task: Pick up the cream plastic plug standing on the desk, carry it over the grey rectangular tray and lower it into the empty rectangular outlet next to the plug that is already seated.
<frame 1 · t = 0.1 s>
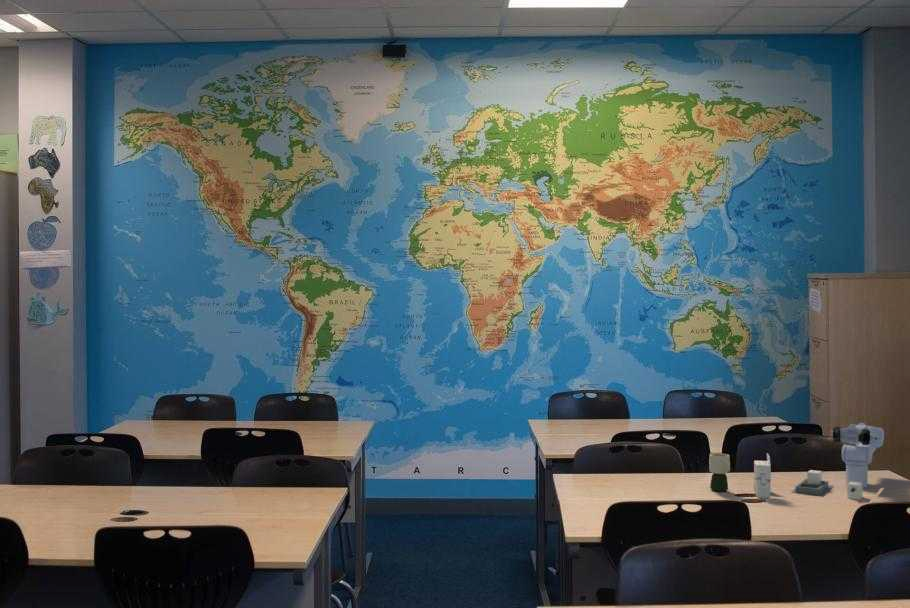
hand: (847, 437, 319), 22 cm above the table, tool horizontal, fingers open, 7 cm apart
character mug: (719, 491, 331), on the table
twin plug: (814, 488, 331), point 1 cm above the table, touching grey rectangular tray
grey rectangular tray: (812, 491, 329), on the table
plug: (854, 500, 317), on the table
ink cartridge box: (761, 496, 323), on the table
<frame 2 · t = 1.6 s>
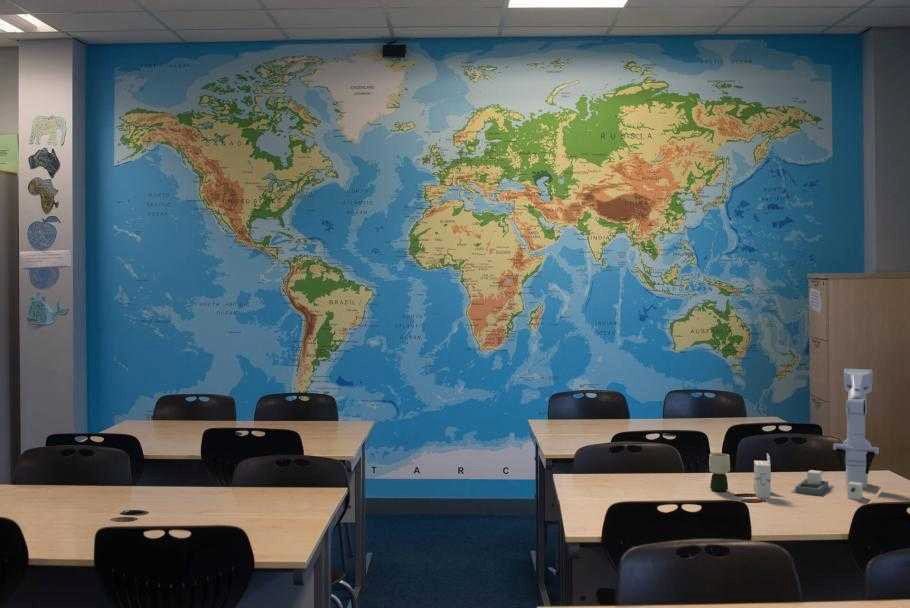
hand: (855, 472, 316), 10 cm above the table, tool pointing down, fingers open, 7 cm apart
nothing on the table moved.
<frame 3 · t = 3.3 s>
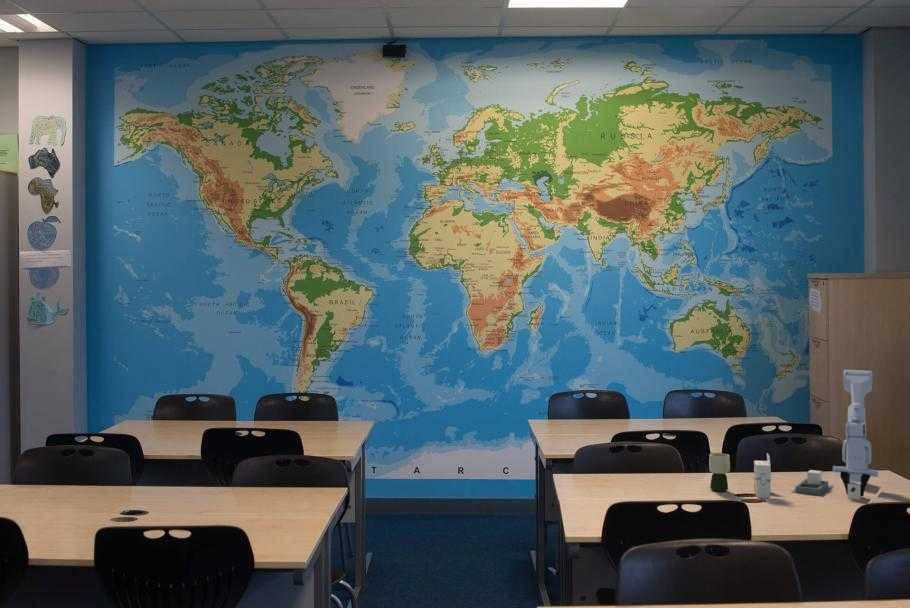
hand: (854, 494, 316), 2 cm above the table, tool pointing down, fingers closed on plug, 4 cm apart
plug: (854, 500, 317), on the table, touching gripper
everything else where it was.
when the fingers open (4 cm above the table, at t = 7.6 s): plug stays where it is, resting on grey rectangular tray.
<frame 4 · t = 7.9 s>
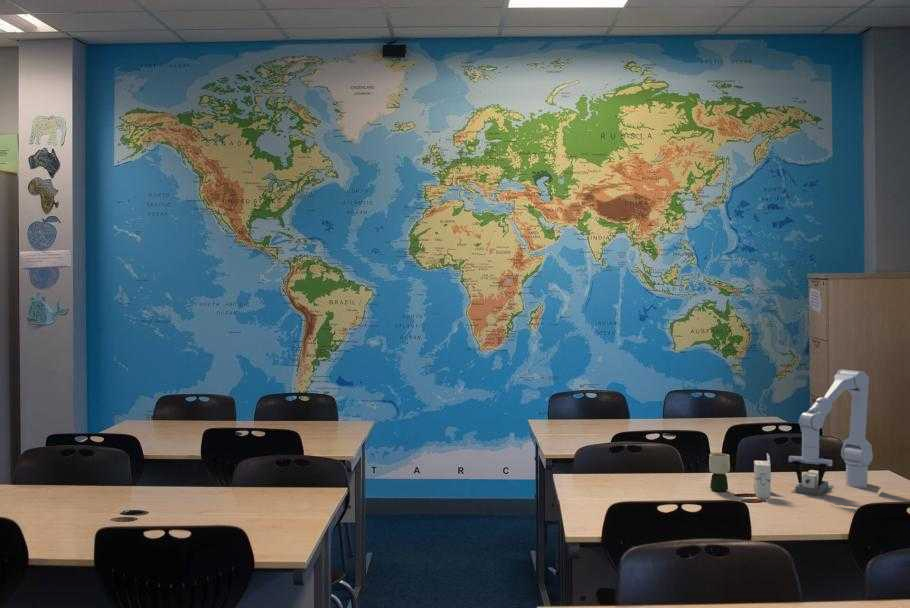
hand: (809, 483, 325), 4 cm above the table, tool pointing down, fingers open, 6 cm apart
plug: (809, 491, 325), point 1 cm above the table, touching grey rectangular tray
everything else where it was.
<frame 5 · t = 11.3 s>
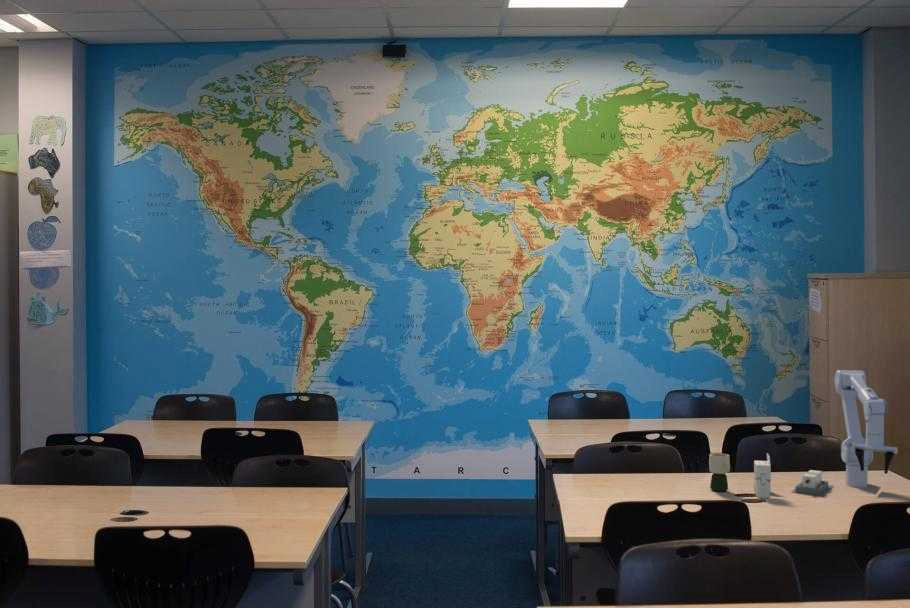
hand: (874, 471, 319), 9 cm above the table, tool pointing down, fingers open, 7 cm apart
nothing on the table moved.
at the end: plug 0.1 cm from the target spot on the grey rectangular tray, point 1.0 cm above the grey rectangular tray's base; plug tilted 0°; the gripper is holding nothing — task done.
